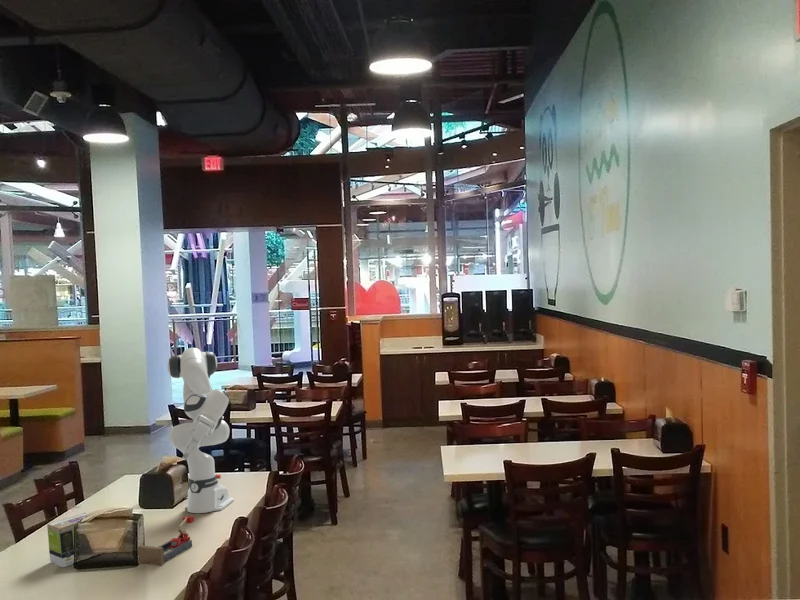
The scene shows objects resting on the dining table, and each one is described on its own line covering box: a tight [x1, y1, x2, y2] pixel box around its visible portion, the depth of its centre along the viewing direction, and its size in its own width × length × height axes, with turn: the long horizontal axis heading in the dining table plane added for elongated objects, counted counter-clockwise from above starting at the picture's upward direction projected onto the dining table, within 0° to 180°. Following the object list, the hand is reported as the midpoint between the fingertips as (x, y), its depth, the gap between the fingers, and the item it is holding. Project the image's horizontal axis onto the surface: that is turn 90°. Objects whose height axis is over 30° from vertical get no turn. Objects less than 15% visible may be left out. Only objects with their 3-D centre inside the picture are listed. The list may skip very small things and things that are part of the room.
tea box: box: [46, 512, 92, 568], centre depth 267 cm, size 15×10×15 cm, turn 141°
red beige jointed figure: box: [170, 515, 195, 550], centre depth 275 cm, size 3×14×10 cm, turn 168°
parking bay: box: [137, 538, 193, 567], centre depth 266 cm, size 19×10×6 cm, turn 159°
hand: (186, 455), depth 280 cm, fingers open, 8 cm apart
